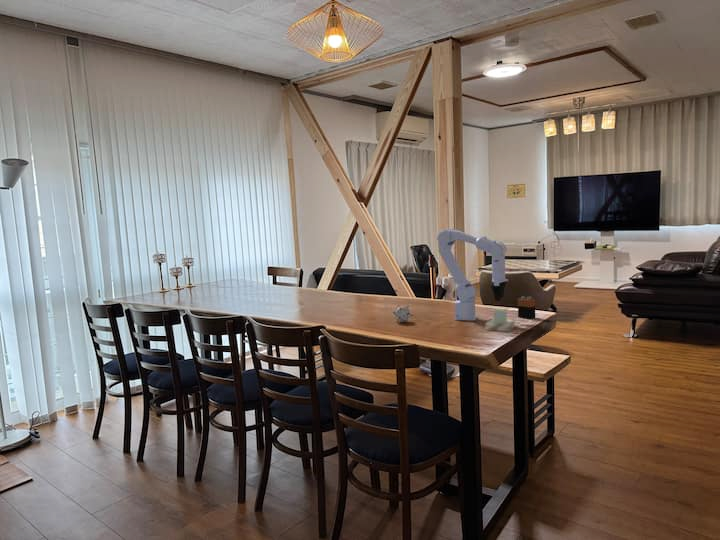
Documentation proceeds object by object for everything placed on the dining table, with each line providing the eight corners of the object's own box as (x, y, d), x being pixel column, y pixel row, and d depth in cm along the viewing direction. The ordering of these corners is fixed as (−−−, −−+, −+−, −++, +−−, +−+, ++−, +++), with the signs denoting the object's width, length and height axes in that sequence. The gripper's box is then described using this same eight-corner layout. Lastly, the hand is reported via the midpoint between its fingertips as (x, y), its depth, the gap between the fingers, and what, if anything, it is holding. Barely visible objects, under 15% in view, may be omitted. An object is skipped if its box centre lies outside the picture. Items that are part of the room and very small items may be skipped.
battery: (530, 319, 232) (529, 298, 231) (517, 317, 238) (517, 296, 237) (535, 318, 235) (535, 296, 234) (523, 316, 240) (523, 295, 239)
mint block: (494, 323, 218) (494, 311, 217) (495, 320, 222) (495, 309, 221) (505, 323, 216) (505, 312, 215) (506, 321, 220) (506, 310, 219)
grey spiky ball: (406, 329, 240) (418, 312, 240) (400, 326, 233) (413, 309, 232) (392, 318, 244) (404, 301, 244) (386, 316, 237) (398, 298, 236)
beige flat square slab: (484, 331, 216) (484, 324, 216) (489, 325, 226) (489, 319, 226) (511, 332, 212) (511, 325, 212) (514, 326, 222) (514, 320, 222)
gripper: (505, 271, 220) (506, 302, 221) (509, 267, 233) (510, 296, 235) (489, 271, 223) (489, 301, 224) (494, 267, 236) (494, 296, 237)
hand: (499, 299), depth 230 cm, fingers open, 7 cm apart
